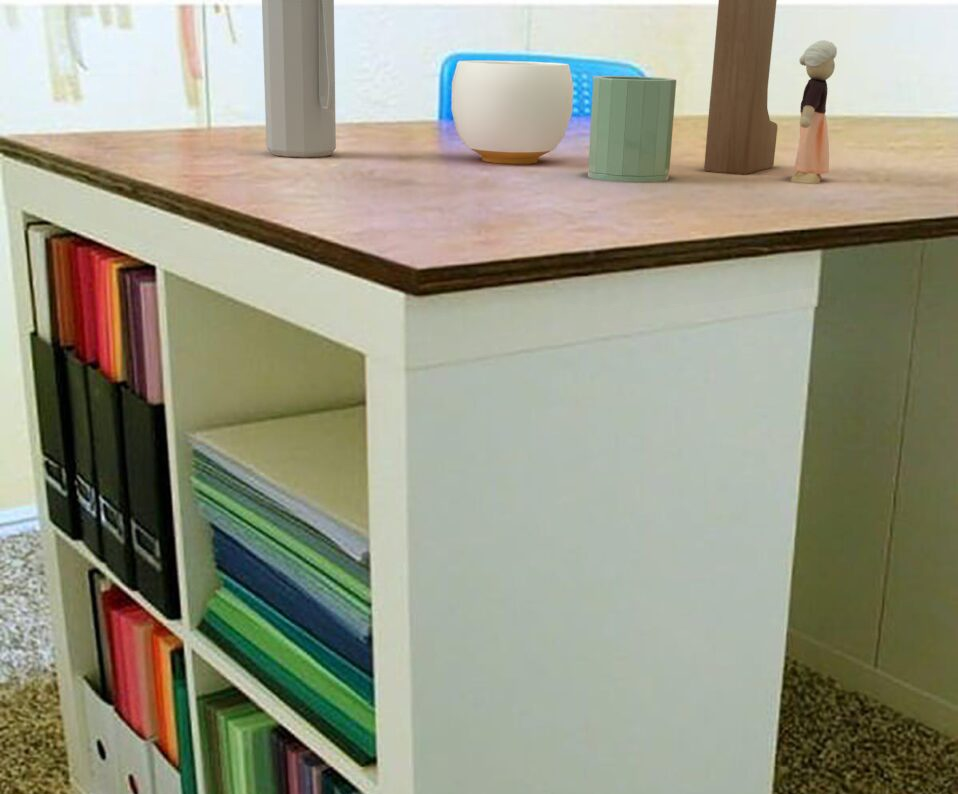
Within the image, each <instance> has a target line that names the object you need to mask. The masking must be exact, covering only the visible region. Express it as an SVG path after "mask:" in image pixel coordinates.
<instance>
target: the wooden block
mask: <svg viewBox="0 0 958 794" xmlns="http://www.w3.org/2000/svg"><path fill="white" fill-rule="evenodd" d="M777 1H778V0H718V2H717V3H718V5H717V16H716V25H715V26H716V27H715V29H716V30H715V38H714V50H713V61H712V62H713V63H712V75H711V83H710V94H709V95H710V96H709V104H708V105H709V107H708V116H707V117H708V118H707V128H706V129H707V131H706V141H705V153H704V167H703V168H704V171H705V172H708V173H719V174H720V173H721V174H731V175H732V174H733V175H741V176H743V175H748V174H753V173H756V172H760V171H764V170H767V169H771V168H773V167H774V164H775V155H776V145H777V137H778V129H779V128H778V124H777V123H776V122H775V121H772V120H771V119H770V113H769V110H768V93H769V92H768V89H769V80H770V79H769V78H770V70H771V61H772V60H771V59H772V51H773V41H774V40H773V39H774V31H775V19H776V10H777Z"/></svg>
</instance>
